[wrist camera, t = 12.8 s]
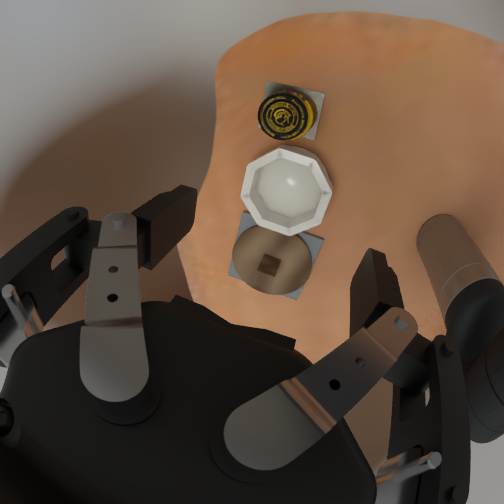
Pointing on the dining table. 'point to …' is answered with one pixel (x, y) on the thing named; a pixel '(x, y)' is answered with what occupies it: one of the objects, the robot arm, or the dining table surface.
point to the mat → (310, 239)
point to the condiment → (289, 112)
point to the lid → (272, 260)
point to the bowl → (287, 190)
